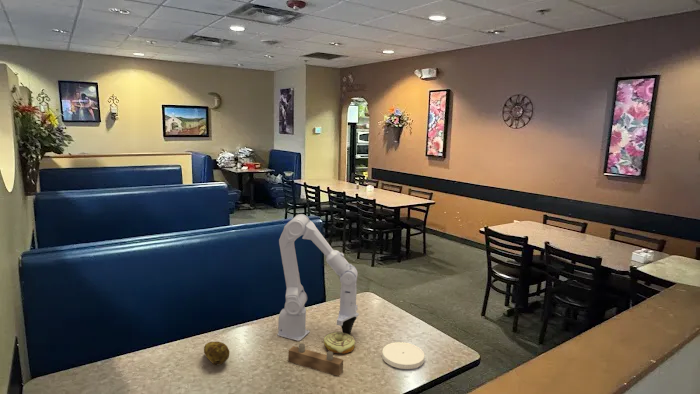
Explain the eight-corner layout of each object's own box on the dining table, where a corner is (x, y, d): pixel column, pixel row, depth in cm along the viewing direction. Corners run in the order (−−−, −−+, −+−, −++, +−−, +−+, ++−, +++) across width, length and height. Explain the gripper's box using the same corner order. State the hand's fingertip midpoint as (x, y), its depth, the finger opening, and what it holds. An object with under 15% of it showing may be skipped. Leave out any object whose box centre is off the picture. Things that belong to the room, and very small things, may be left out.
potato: (231, 350, 140) (231, 328, 139) (228, 372, 128) (228, 348, 127) (205, 352, 138) (204, 330, 137) (200, 375, 126) (199, 350, 125)
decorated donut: (342, 359, 138) (343, 348, 137) (317, 348, 144) (317, 338, 143) (360, 346, 146) (360, 336, 146) (335, 336, 152) (336, 327, 152)
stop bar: (288, 361, 135) (288, 344, 134) (293, 357, 138) (293, 340, 137) (338, 376, 128) (339, 358, 127) (342, 371, 131) (343, 353, 130)
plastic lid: (413, 347, 148) (414, 340, 148) (431, 369, 135) (431, 362, 134) (376, 351, 144) (376, 344, 144) (390, 374, 131) (391, 367, 131)
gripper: (350, 310, 140) (349, 348, 143) (365, 295, 154) (364, 329, 156) (331, 306, 143) (330, 343, 145) (348, 291, 156) (346, 325, 158)
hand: (346, 335), depth 151 cm, fingers closed
